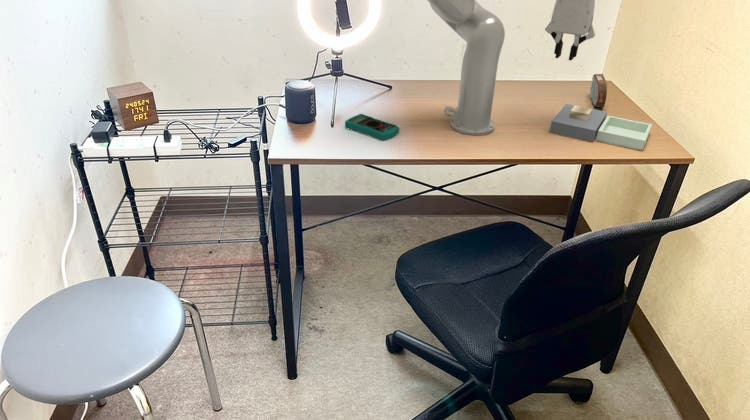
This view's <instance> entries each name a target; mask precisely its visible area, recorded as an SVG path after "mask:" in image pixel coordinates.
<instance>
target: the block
mask: <svg viewBox="0 0 750 420" xmlns="http://www.w3.org/2000/svg"><path fill="white" fill-rule="evenodd" d="M574 105H575V106H574V107H573V108H572V110H571V111H570V115H569V118H574V119H579V120H584V121H588V119H589V118H590V116H591V113H592V109H593V108H590V107H584V106H579V105H576V104H574Z"/></svg>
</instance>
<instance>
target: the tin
mask: <svg viewBox="0 0 750 420" xmlns="http://www.w3.org/2000/svg"><path fill="white" fill-rule="evenodd" d="M607 93H608V82H607V80H606V77H605V75H604V74H603V73H595V74H593V75H592V81H591V86H590V100H591V103H592V105H593V107H594V108H600V109H601V108H602V109H603V108H605V105H606V100H607V97H608V96H607V95H608V94H607Z"/></svg>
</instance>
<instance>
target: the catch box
mask: <svg viewBox="0 0 750 420" xmlns="http://www.w3.org/2000/svg"><path fill="white" fill-rule="evenodd" d="M652 126H653V124H652V123H647V122H642V121H636V120H631V119H626V118H621V117H617V116H613V115H607V116H606V119H605V121H604V122H603V124H602V126H601V127H600V129H599V130H598V134H597V136H596V138H595V141H596V142H600V143H604V144H608V145H613V146H616V147H622V148H628V149H630V150H635V151H641V152H643V150H644V147H645V146H646V143H647V141H648V138H649V137H650V133H651V130H652Z"/></svg>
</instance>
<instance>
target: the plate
mask: <svg viewBox="0 0 750 420" xmlns="http://www.w3.org/2000/svg"><path fill="white" fill-rule="evenodd" d="M575 105H576V104H570V103H565V104H564V106H563V107H562V108H561V109H560V110H559V112H558V113H557V114H556V115H555V116H554V117H553V118H552V120H551V121H550V126H549V132H548V133H549V134H554V135H559V136H563V137H568V138H572V139H575V140H580V141H584V142H585V141H586V142H590V143H593V142H594V141H596V138H597V134H598V130H599V129H600V127H601V126H602V124H603V122H604V121H605V119H606V118H607V116H608V111H605V110H599V109H594V108H591V109H592V113H591V116H590V118H589V119H588V121H584V120H579V119H574V118H569V115H570V111H571V110H572V108H573V107H574V106H575Z"/></svg>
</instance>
